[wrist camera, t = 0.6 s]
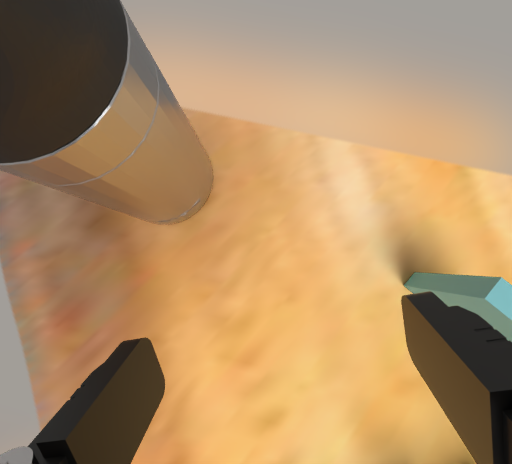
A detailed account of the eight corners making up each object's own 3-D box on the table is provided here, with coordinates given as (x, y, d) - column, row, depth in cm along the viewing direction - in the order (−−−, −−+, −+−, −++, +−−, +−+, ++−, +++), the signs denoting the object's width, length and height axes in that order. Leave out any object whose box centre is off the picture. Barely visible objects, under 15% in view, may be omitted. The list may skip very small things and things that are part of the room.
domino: (448, 322, 26) (559, 358, 16) (403, 285, 27) (484, 298, 17) (459, 308, 26) (576, 336, 16) (414, 272, 27) (501, 277, 17)
